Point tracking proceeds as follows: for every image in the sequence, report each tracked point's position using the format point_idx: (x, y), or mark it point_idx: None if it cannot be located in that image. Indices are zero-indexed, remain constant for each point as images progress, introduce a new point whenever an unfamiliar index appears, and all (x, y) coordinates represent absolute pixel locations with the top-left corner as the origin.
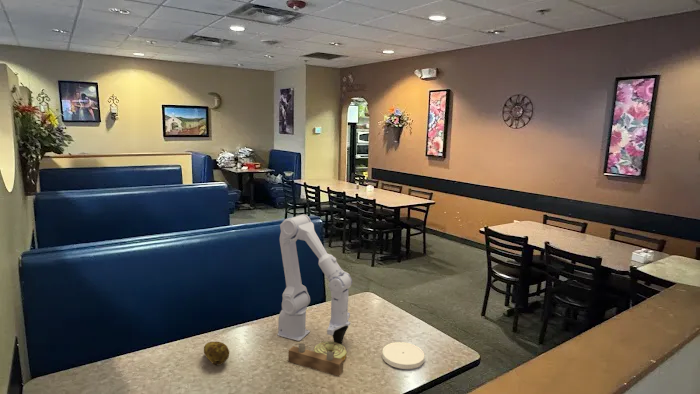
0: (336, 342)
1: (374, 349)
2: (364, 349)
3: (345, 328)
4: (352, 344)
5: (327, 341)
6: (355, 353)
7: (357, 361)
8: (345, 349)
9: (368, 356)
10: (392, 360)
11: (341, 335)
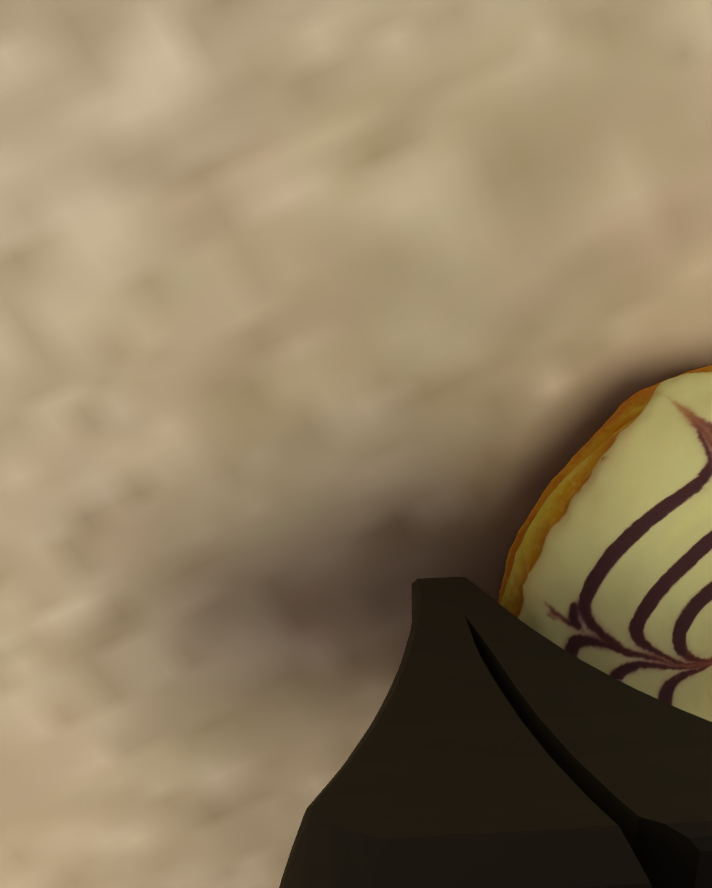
0: None
1: (137, 39)
2: (238, 218)
3: (619, 882)
4: (205, 463)
5: None
6: (429, 306)
7: (639, 171)
8: (674, 430)
9: (415, 51)
10: None
11: (708, 727)
